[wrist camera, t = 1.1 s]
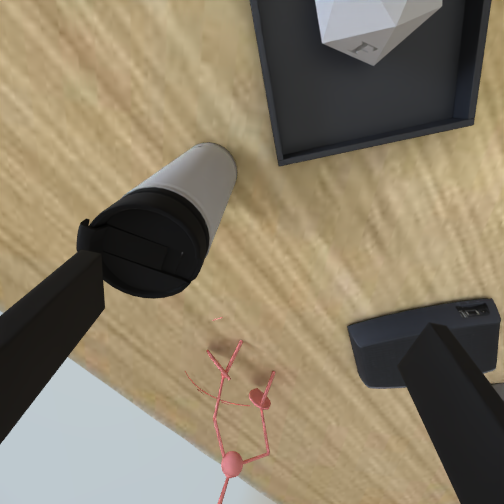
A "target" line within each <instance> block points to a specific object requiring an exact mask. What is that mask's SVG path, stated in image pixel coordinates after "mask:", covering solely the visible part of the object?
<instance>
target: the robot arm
mask: <svg viewBox="0 0 504 504" xmlns="http://www.w3.org/2000/svg"><path fill="white" fill-rule="evenodd" d="M104 309H105V301H104V286H103V271H102V255H101V254H100V253H96V252H91V251H86V250H80V251H78V252H77V253H76V254H75V255H74V256H72V257H71V258H70V259H69V260H68V261H66V262H65V263H64V264H63V265H61V266H60V267H59V268H58V269H57V270H55V271H54V272H53V273H52V274H51V275H49V276H48V277H47V278H46V279H44V280H43V281H42V282H41V283H40V284H38V285H37V286H36V287H35V288H34V289H32V290H31V291H30V292H29V293H28V294H26V295H25V296H24V297H23V298H21V299H20V300H19V301H18V302H17V303H15V304H14V305H13V306H12V307H11V308H9V309H8V310H7V311H6V312H5V313H3V314H2V315H1V316H0V444H1V443H2V441H3V440H4V439H5V437H6V436H7V435H8V434H9V432H10V431H11V430H12V428H13V427H14V426H15V425H16V423H17V422H18V421H19V419H20V418H21V417H22V415H23V414H24V412H25V411H26V410H27V409H28V408H29V406H30V405H31V404H32V402H33V401H34V400H35V398H36V397H37V396H38V395H39V393H40V392H41V391H42V389H43V388H44V387H45V385H46V384H47V383H48V382H49V380H50V379H51V377H52V376H53V375H54V374H55V373H56V371H57V370H58V368H59V367H60V366H61V364H62V363H63V362H64V361H65V360H66V358H67V357H68V356H69V354H70V353H71V352H72V350H73V349H74V348H75V347H76V345H77V344H78V343H79V341H80V340H81V339H82V337H83V336H84V335H85V334H86V332H87V331H88V330H89V328H90V327H91V326H92V324H93V323H94V322H95V321H96V319H97V318H98V317H99V315H100V314H101V313H102V311H103V310H104ZM397 367H398V369H399V371H400V374H401V376H402V378H403V380H404V382H405V384H406V387H407V389H408V391H409V393H410V395H411V397H412V399H413V402H414V404H415V406H416V408H417V410H418V412H419V415H420V417H421V419H422V421H423V423H424V425H425V428H426V430H427V432H428V434H429V436H430V438H431V441H432V443H433V445H434V447H435V449H436V451H437V453H438V456H439V458H440V460H441V462H442V464H443V466H444V469H445V471H446V473H447V475H448V477H449V479H450V482H451V484H452V486H453V488H454V490H455V492H456V495H457V497H458V499H459V501H460V503H461V504H504V401H503V400H502V398H501V397H500V396H499V394H498V393H497V392H496V390H495V389H494V388H493V386H492V385H491V384H490V382H489V381H488V380H487V378H486V377H485V376H484V375H483V373H482V372H481V371H480V369H479V368H478V367H477V365H476V364H475V363H474V361H473V360H472V359H471V357H470V356H469V355H468V353H467V352H466V351H465V349H464V348H463V347H462V345H461V344H460V343H459V341H458V340H457V339H456V337H455V336H454V335H453V334H452V332H451V331H450V330H449V328H448V327H447V326H446V325H441V324H436V323H431V322H428V324H427V325H426V327H425V328H424V329H423V331H422V332H421V333H420V335H419V336H418V338H417V339H416V340H415V342H414V343H413V345H412V346H411V347H410V349H409V350H408V352H407V353H406V354H405V356H404V357H403V358H402V360H401V361H400V363H399V364H398V365H397Z"/></svg>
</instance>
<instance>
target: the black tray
mask: <svg viewBox="0 0 504 504" xmlns="http://www.w3.org/2000/svg"><path fill="white" fill-rule="evenodd" d="M250 5H251V10H252V16H253V22H254V28H255V33H256V39H257V45H258V51H259V56H260V62H261V68H262V74H263V79H264V85H265V91H266V97H267V102H268V108H269V114H270V120H271V125H272V131H273V137H274V143H275V148H276V154H277V160H278V165H279V166H284V165H288V164H293V163H298V162H303V161H307V160H312V159H317V158H321V157H326V156H331V155H335V154H340V153H345V152H349V151H354V150H359V149H364V148H368V147H373V146H378V145H382V144H387V143H392V142H396V141H401V140H406V139H411V138H415V137H420V136H425V135H429V134H434V133H439V132H443V131H448V130H453V129H458V128H462V127H467V126H472V125H474V120H475V112H476V105H477V98H478V91H479V84H480V77H481V70H482V63H483V56H484V49H485V42H486V35H487V28H488V21H489V14H490V7H491V0H442V7H441V8H439V9H438V10H437V11H436V12H435V13H434V14H433V15H431V16H430V17H429V18H428V19H427V20H426V21H425V22H423V23H422V24H421V25H420V26H419V27H418V28H417V29H415V30H414V31H413V32H412V33H411V34H410V35H408V36H407V37H406V38H405V39H404V40H403V41H402V42H400V43H399V44H398V45H397V46H396V47H395V48H394V49H392V50H391V51H390V52H389V53H388V54H387V55H386V56H384V57H383V58H382V59H381V60H380V61H379V62H377V63H376V64H375V65H374V66H372V65H370V64H368V63H366V62H363V61H361V60H359V59H357V58H354V57H352V56H350V55H348V54H345V53H343V52H341V51H338V50H336V49H334V48H332V47H329V46H327V45H325V44H323V43H322V39H321V33H320V27H319V21H318V15H317V9H316V3H315V0H250Z"/></svg>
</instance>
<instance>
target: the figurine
mask: <svg viewBox="0 0 504 504" xmlns="http://www.w3.org/2000/svg"><path fill="white" fill-rule="evenodd" d="M221 318H223V317H221ZM218 319H220V318H218ZM214 320H216V319H214ZM212 321H213V320H212ZM242 343H243V341H242V340H240V341H239V343H238V345H237V347H236V349H235V351H234V353H233V355H232V357H231V359H230V361H229V364H228V366H227V368H226V370H224V369H223V367H222V366H221V365H220V364H219V362H218V361H217V360H216V359H215V357H214V356H213V355H212V354H211V353H210V351H209V350H207V353H208V355H209V356H210V358H211V359H212V361H213V362H214V363H215V365H216V366H217V367H218V368H219V370H220V371H221V372H222V373H221V376H222V380H221V384H220V389H219V394H218V398H216V399H217V403H216V408H215V412H214V417H213V419H214V420H213V421H214V425H215V429H216V433H217V437H218V441H219V445H220V449H221V452H222V456H223V459H222V463H221V467H222V471H223V473H224V474H225V476H226V477H227V478H226V481H225V484H224V487H223V489H222V492H221V495H220V498H219V501H218V504H222V501H223V498H224V494H225V491H226V488H227V484H228V481H229V478H232V477H236V476H238V475H239V474H240V472H241V470H242V467H243V464H246V463H249V462H251V461H254V460H257V459H260V458H262V457H265V456H268V455H269V453H270V451H269V445H268V439H267V433H266V427H265V421H264V415H263V410H267V409H269V407H270V405H271V403H270V400H269V399H268V397H267V394H268V391H269V389H270V386H271V383H272V381H273V378H274V375H275V372H274V371H272V374H271V377H270V379H269V382H268V385H267V387H266V390H265V392H264V393H262V392H261V391H260V390H259V389H258V388H255V389H253V390H251V391H250V393H249V398H250V400H251V401H252V402H253V404H254V405H255V406H257V407H259V408H260V411H261V417H262V423H263V430H264V436H265V442H266V449H267V453H265V454H262V455H259V456H256V457H253V458H250V459H247V460H244V461H242V458H241V456H240V454H238V453H237V452H235V451H230V452H228V453H226V454H225V452H224V448H223V444H222V440H221V437H220V433H219V429H218V425H217V421H216V416H217V411H218V406H219V401H220V396H221V391H222V386H223V381H224V378H227V379H228V380H230V379H231V378H230V377H229V375H228V372H229V370H230V368H231V366H232V363H233V361H234V359H235V357H236V355H237V353H238V351H239V349H240V347H241V345H242ZM185 372H186V371H185ZM186 374H187V373H186ZM187 376H188V375H187ZM188 378H189V377H188ZM189 379H190V378H189ZM190 380H191V379H190ZM191 381H192V380H191ZM192 382H193V381H192ZM193 384H194V383H193ZM195 385H196V384H195ZM196 386H197V385H196ZM197 387H198V386H197ZM198 388H199V387H198ZM199 389H200V388H199ZM197 390H198V389H197ZM200 390H201V389H200ZM198 391H199V390H198ZM202 391H203V390H202ZM200 392H201V391H200ZM203 392H204V391H203ZM201 393H202V392H201ZM205 393H206V392H205ZM206 394H208V393H206ZM208 395H209V394H208ZM210 396H211V395H210ZM212 397H213V396H212ZM214 398H215V397H214ZM221 401H223V400H221ZM224 402H227V401H224ZM224 402H222V403H224ZM227 403H230V402H227ZM225 404H226V403H225ZM231 404H235V403H231ZM228 405H229V404H228ZM236 405H240V404H236ZM242 406H250V405H242Z"/></svg>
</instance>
